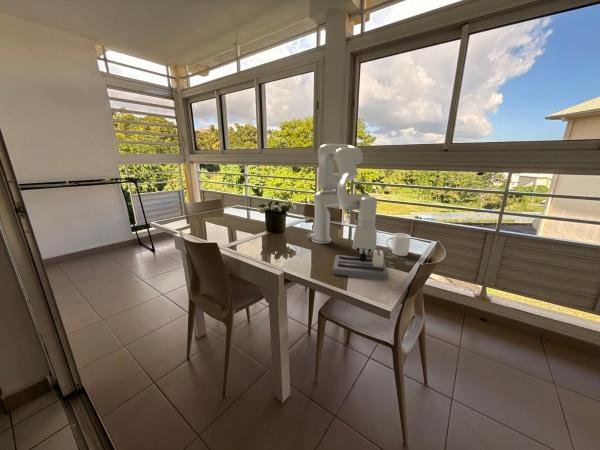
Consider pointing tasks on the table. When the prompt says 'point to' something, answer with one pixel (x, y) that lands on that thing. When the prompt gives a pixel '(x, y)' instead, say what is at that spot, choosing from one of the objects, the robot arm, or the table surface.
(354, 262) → the breaker panel
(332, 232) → the table surface
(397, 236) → the mug
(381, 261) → the breaker toggle
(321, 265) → the table surface
